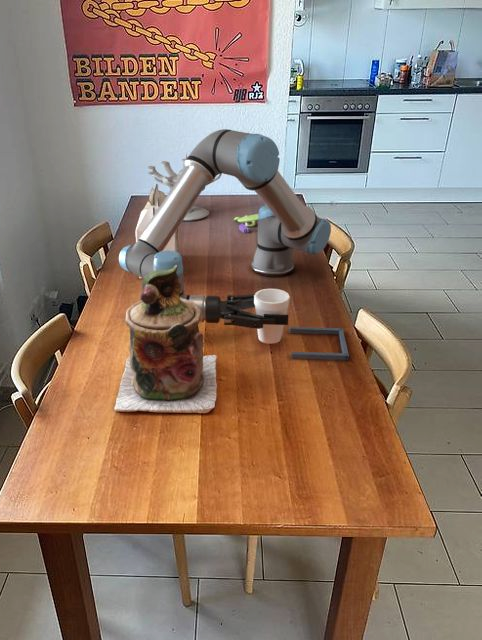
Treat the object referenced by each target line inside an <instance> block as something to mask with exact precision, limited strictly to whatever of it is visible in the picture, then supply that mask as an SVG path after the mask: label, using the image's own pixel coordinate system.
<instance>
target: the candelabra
mask: <svg viewBox="0 0 482 640" xmlns="http://www.w3.org/2000/svg"><path fill="white" fill-rule="evenodd" d="M187 157H188V153H187V152H186V154H185V158H182V159H181V161H182V162H183V163H182V165H183V167H182V168H181V169H180V170H179V172H178V174H177V173H176V172H174V170H173V169H172V167H171V164H170V161H165V160H162V161H160V164H162V165H164V166H163V168H164V170H165V172H166V173H167V174H168V176H166V175H163V174H161V173H159V171H157V169H156V166H154V165H149V166H147V169H148V170H152V171H148V172H147V173H148V175H151V177H152V179H153V180H154V181H156V182H157V183H159V184H162V185H164V186H167V187H168V188H169V191H170V190H171V189H172V187H173V185H174V184H175V182H176V181H177V179H178V178H179V176H180V175H181V173H182V172H183V170H184V169H185V164H184V162H185V161H186V159H187ZM222 174H223V173H221V174H218V175H217V176H216V177H215V178H214V180H213V181H212V182H211V183H207V184H206V186H208V185H210V184H212V183H214V182H216V181H218V180H219V179H221V177H222ZM206 186H205V187H204V189H203V190H202V192H203V191H204V190H205V189H206ZM209 214H210V211H209V210H208V209H207V208H204V207H201V206H197V205H193V206H192V207H191V209H190V210H189V212H188V213H187V215H186V216H185V218H184V219H183V221H184V222H187V221H188V222H189V221H190V222H191V221H198V220H202V219H204V218H206V217H208V216H209ZM183 221H182V222H183Z"/></svg>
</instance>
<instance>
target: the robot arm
mask: <svg viewBox="0 0 482 640" xmlns="http://www.w3.org/2000/svg"><path fill="white" fill-rule="evenodd" d="M279 156H280V150H279V147H278V145H277V143H276V142H275V141H274V140H273V139H272V138H271V137H269V136H265V135H263V134H260V133H251V132H245V131H244V132H243V131H237V130H232V129H228V128H227V129H226V128H222V129H218V130H216V131H213V132H211V133H210V134H208V135H206V137H204V138H203V139H201V141H199V142H198V144H196V145H195V147H194V148H193V149H192V151H191V152H190V153H189V154H188V155H187V159H186V158H185V159H186V161H185V162H184V161H183V164H185V169H184V170H183V172H182V173H181V175H180V176H179V178H178V179H177V181H176V182H175V184H174V185H173V187H172V189H171V190H170V189H169V191H168V193H167V195H166V198H165V199H164V201H163V202H162V204H161V205H160V207H159V208H158V210H157V211H156V213H155V214H154V216H153V218H152V219H151V221H150V222H149V224H148V225H147V227H146V228H145V230H144V231H143V233H142V234H141V236H140V237H139V239H138V241H137V242H136V241H135V243H134V244H127V245H126V246H125V247H123V248H122V249H121V250H120V252H119V255H118V262H119V266H120V267H121V268H122V269H123V270H124V271H126V272H128V273H129V274H131V275H134V276H137V277H141V278H144V277H145V276H146V275H147V274H149V273H151V272H153V271H158V270H171V269H173V268H174V267H175V265H178V267H177V272H176V273H177V275H178V276H179V278H178V281H179V282H180V283H181V290H180V295H179V296H180V298H183V299H187V300H190V301H192V302H194V303H195V304H196V305H197V306H198V307H199V309H200V310H201V319H200V321H199V323H207V324H219V323H220V320H223V325H224V326H236V327H243V328H250V329H254V330H255V329H256V330H257V329H260V328H263V324H267V325H284V326H288V325H289V314H286V315H280V314H264V317H263V316H261V315H257V314H256V313H254V312H249V311H246V310H250V309H255V304H254V295H255V293H249V294H238V295H232V294H231V295H230V294H229V295H226V299H225V300H221V297H220V295H206V296H205V295H204V294H185V293H184V266H183V257H182V254H180V252H179V253H178V252H175V251H163V250H164V248H165V247H166V245H167V244H168V242H169V241H170V239H171V238H172V236H173V234H174V233H175V231H176V230H177V228H178V229H179V227H180V226H181V224H182V222H183V219H184V218H185V216H186V215H187V213H188V212H189V210H190V209H191V207H192V206H194V204H195V202H196V201H197V200H198V198H199V196H201V193H202V192H203V191H204V190H205V189H204V187H205V186H206V184H207V183H210V184H212V183H213V182H212V181H213V180H214V178H216V177H217V176H219V174H221V173H222V174H224V175H227V176H232V177H235V178H236V179H237V180H238V181H239V183H240V184H241V185H242V186H243V188H245V189H246V190H248V191H253V192H255V193H256V194H257V196H258V197H259V198H260V199H261V201H262V202H263V203H264V204H265V205H262V206H261V207H260V208H259V209H258V213H257V214H258V222H257V233H256V234H257V236H256V237H257V241H256V250H255V252H254V255H253V258H252V260H251V263H250V264H251V267H250V268H251V271H252V272H253V273H254V274H257V275H259V276H262V277H268V278H278V277H279V278H280V277H285V276H288V275H290V274H292V273H293V272H294V270H295V262H294V260H293V255H292V251H291V249H294V250H298V251H301V252H304V253H307V254H310V255H318V254H319V253H321V252H322V251H323V250H324V249H325V248H326V246H327V244H328V242H329V240H330V237H331V233H332V225H331V222H330V220H328V219H326V218H324V217H322V218H321V217H319V216H318V215H317V214H316V212H315V211H314V210H313V208H311V207H310V206H308V205H303V203H302V202H301V200H300V199H299V198H298V196H297V195H296V193H295V192H294V191H293V190H292V188H291V186H290V185H289V184H288V183H287V181H286V179H285V178H284V177H283V175H282V174H281V173H280V171H279V166H280V157H279ZM211 182H212V183H211ZM205 188H206V187H205ZM203 189H204V190H203ZM202 190H203V191H202Z"/></svg>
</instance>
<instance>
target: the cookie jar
mask: <svg viewBox="0 0 482 640" xmlns="http://www.w3.org/2000/svg"><path fill="white" fill-rule="evenodd" d="M177 267H178V265H175V267H174V268H173V269H171V270H158V271H153V272H151V273H149V274H147V275H146V276H145V277H144V279H142V282H141V288H142V292H141V293H140V296H139V298H140V300H139V301H136V302H135V303H134V304H132V305H131V306H130V307H129V308H127V309H126V311H125V319H124V320H125V325H126V326H127V327H128V329H129V334H130V335H129V343H128V353H129V356H128V357H127V358H126V360H125V366H124V371H123V373H122V376H121V379H120V382H119V389H118V393H117V396H116V401H115V406H114V411H115V412H125V413H129V412H151V413H193V414H194V413H195V414H196V413H198V414H207V413H209V412H211V410H213V409H214V408H215V405H216V401H217V397H218V395H217V393H218V392H217V388H218V384H217V359H218V356H217V355H216V354H210V355H209V354H208V355H204V334H203V333H202V332H201V331H200V329H199V324H200V322H199V321H200V319H201V310H200V309H199V307H198V306H197V305H196V304H195V303H194V302H192V301H190V300H187V299H183V298H180V296H179V295H180V290H181V283H180V282H179V281H178V278H179V276H178V275H177V273H176V272H177Z"/></svg>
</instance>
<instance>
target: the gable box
mask: <svg viewBox="0 0 482 640" xmlns="http://www.w3.org/2000/svg"><path fill="white" fill-rule="evenodd" d="M149 193H150V194H149V197H148V200H147V202H146V203H145V205H144V208H143V209H142V210H141V211H140V214H139V217H138V221H137V225H136V228H135V243H136V242H137V241H138V239H139V237H140V236H141V234H142V233H143V231H144V230H145V228H146V227H147V225H148V224H149V222H150V221H151V219H152V218H153V216H154V214H155V213H156V211H157V210H158V208H159V207H160V205H161V204H162V202H163V201H164V199H165V198H166V196H167V195H166V193H164V191H161V190H159V184H158V183H156V184H155V188H154V186H151V190H150V192H149ZM179 238H180V237H179V227H178V228H177V230H176V231H175V233H174V234H173V236H172V238H171V239H170V241H169V242H168V244H167V245H166V247H165V248H164V250H163V251H175V252H178V253H179V254H180V239H179ZM138 277H139V276H138ZM139 279H141V280H143V279H144V278H141V277H139Z"/></svg>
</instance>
